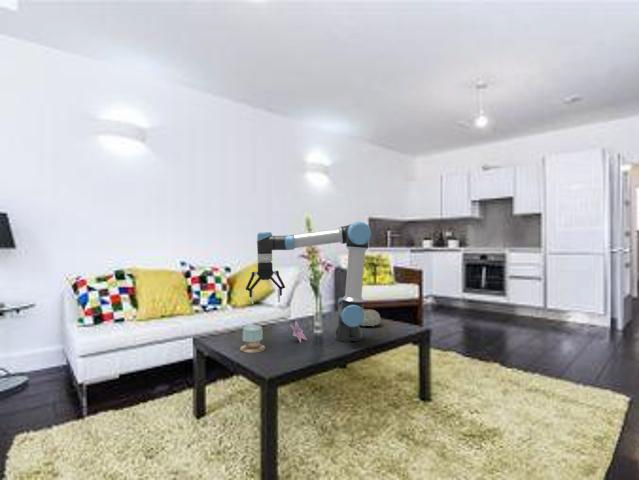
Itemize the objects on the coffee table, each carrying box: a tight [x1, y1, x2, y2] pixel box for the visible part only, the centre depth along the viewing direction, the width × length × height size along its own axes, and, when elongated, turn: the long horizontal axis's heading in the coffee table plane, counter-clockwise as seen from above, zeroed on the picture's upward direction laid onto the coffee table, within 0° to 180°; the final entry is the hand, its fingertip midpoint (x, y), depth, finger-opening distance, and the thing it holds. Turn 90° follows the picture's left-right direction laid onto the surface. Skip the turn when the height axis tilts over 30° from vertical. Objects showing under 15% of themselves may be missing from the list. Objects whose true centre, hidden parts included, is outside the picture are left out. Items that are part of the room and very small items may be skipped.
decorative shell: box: [359, 308, 382, 327], centre depth 239 cm, size 18×18×10 cm
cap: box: [242, 324, 263, 343], centre depth 186 cm, size 9×9×6 cm
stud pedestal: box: [240, 341, 266, 354], centre depth 186 cm, size 12×12×9 cm
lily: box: [290, 320, 308, 343], centre depth 202 cm, size 12×12×10 cm
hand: (265, 302), depth 191 cm, fingers open, 13 cm apart
